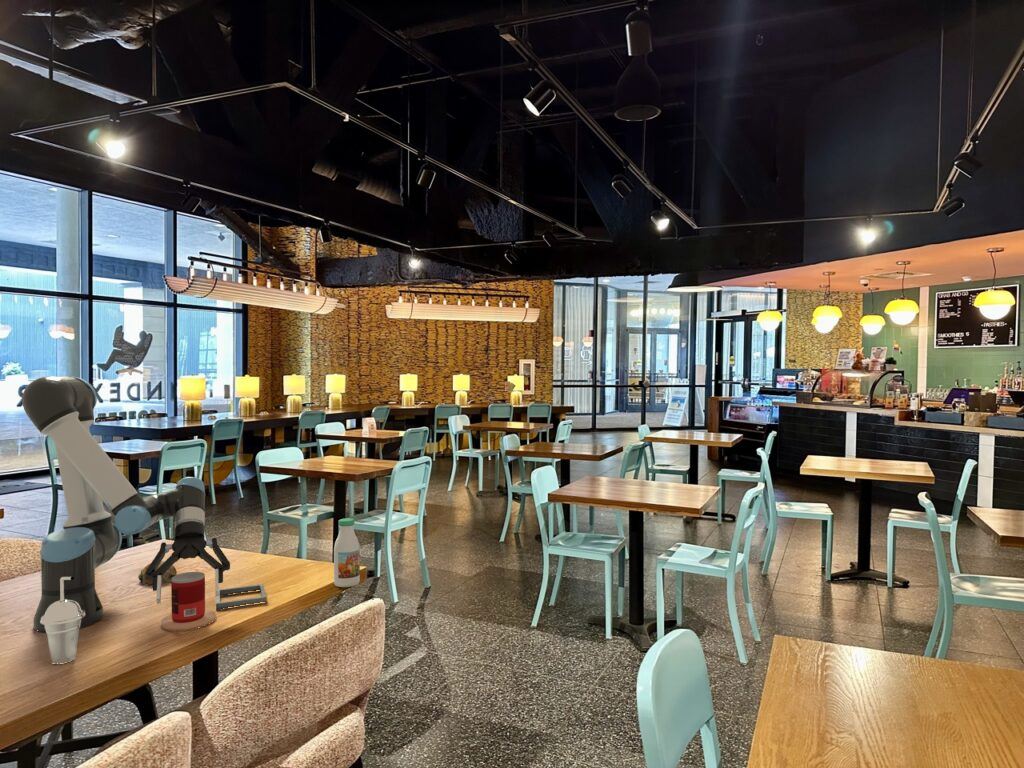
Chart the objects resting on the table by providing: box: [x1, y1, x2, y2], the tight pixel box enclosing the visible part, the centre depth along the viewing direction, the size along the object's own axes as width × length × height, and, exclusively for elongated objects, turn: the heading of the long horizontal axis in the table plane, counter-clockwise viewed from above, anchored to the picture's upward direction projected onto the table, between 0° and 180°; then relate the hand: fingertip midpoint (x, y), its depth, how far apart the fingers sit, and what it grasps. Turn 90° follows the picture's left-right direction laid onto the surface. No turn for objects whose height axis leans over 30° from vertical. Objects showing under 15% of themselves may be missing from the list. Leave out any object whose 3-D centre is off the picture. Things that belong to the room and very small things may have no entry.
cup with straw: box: [40, 577, 86, 664], centre depth 149 cm, size 8×9×20 cm
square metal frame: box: [215, 583, 267, 611], centre depth 190 cm, size 13×13×2 cm
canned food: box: [170, 571, 206, 623], centre depth 173 cm, size 8×8×11 cm
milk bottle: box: [333, 517, 361, 588], centre depth 204 cm, size 8×8×20 cm
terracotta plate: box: [160, 608, 217, 632], centre depth 173 cm, size 13×13×1 cm
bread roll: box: [137, 560, 178, 586], centre depth 208 cm, size 10×10×8 cm
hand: (188, 597), depth 171 cm, fingers open, 13 cm apart
